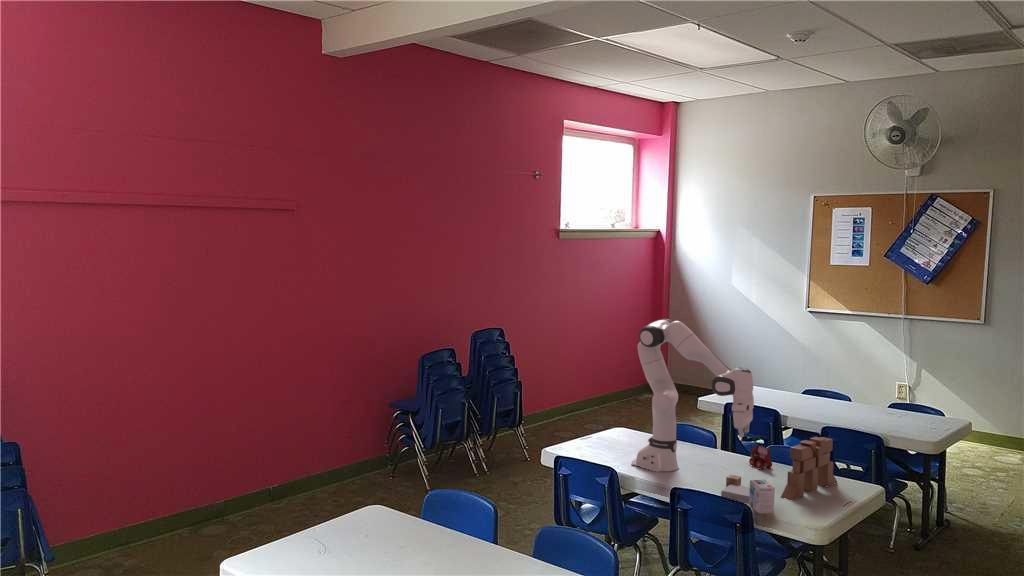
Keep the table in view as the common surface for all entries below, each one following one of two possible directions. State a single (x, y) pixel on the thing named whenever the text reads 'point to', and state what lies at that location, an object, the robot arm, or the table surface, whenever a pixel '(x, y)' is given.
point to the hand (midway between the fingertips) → (744, 434)
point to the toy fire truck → (760, 457)
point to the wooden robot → (809, 467)
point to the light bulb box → (761, 496)
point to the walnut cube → (733, 480)
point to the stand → (736, 492)
